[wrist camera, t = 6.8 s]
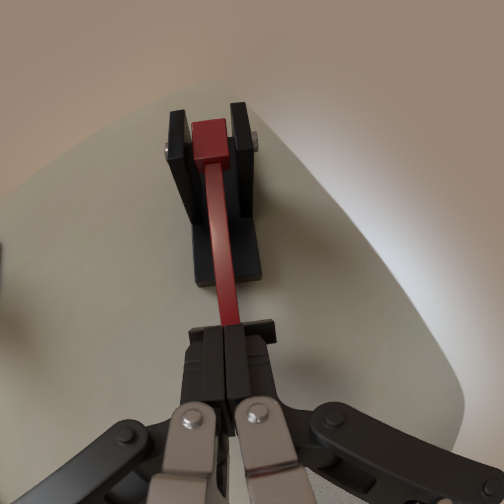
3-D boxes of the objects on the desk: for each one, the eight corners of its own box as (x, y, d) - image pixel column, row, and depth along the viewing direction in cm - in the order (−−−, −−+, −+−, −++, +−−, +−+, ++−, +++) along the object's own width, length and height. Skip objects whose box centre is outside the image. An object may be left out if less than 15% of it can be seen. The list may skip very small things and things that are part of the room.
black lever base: (267, 279, 23) (278, 222, 14) (192, 288, 23) (155, 237, 14) (245, 145, 28) (244, 65, 19) (186, 152, 28) (167, 75, 19)
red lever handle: (273, 337, 18) (278, 345, 16) (196, 346, 18) (189, 355, 15) (246, 132, 20) (247, 115, 17) (176, 141, 19) (169, 125, 17)
